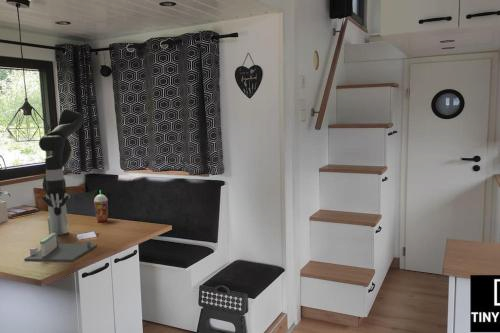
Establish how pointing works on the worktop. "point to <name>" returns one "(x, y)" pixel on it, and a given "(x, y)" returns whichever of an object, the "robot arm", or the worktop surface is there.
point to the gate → (48, 244)
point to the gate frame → (61, 252)
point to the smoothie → (101, 207)
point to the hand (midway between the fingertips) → (58, 215)
